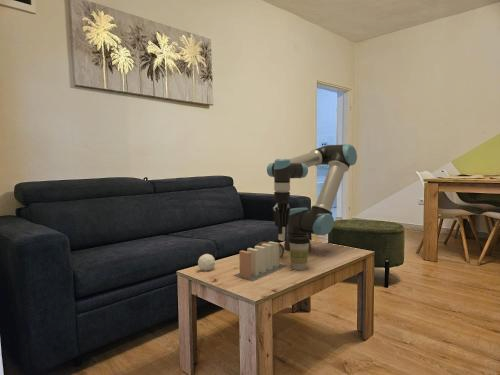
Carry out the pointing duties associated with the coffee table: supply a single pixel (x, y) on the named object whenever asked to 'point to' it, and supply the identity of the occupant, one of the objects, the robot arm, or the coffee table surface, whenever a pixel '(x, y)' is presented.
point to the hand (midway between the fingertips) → (281, 240)
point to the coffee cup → (299, 251)
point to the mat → (262, 273)
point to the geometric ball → (206, 262)
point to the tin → (281, 248)
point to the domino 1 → (245, 264)
